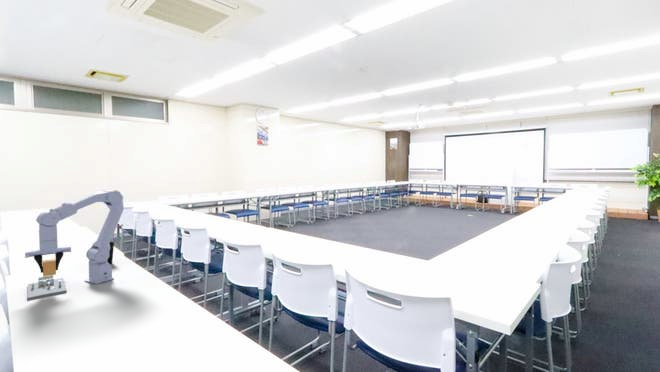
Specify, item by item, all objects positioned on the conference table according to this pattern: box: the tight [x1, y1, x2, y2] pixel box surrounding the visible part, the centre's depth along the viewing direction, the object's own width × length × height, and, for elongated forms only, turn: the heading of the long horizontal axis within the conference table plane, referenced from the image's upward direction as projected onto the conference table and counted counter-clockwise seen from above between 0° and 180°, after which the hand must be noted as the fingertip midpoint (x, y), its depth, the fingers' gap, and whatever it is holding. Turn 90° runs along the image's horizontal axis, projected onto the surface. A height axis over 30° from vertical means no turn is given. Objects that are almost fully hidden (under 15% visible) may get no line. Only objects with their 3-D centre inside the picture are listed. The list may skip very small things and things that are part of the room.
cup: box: [107, 241, 115, 265], centre depth 173 cm, size 8×8×12 cm
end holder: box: [38, 275, 55, 287], centre depth 139 cm, size 7×5×2 cm
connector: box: [42, 258, 57, 277], centre depth 131 cm, size 4×4×6 cm
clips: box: [31, 280, 61, 289], centre depth 135 cm, size 6×9×2 cm, turn 135°
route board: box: [27, 277, 68, 300], centre depth 135 cm, size 21×12×1 cm, turn 45°
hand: (49, 270), depth 131 cm, fingers closed on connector, 4 cm apart
